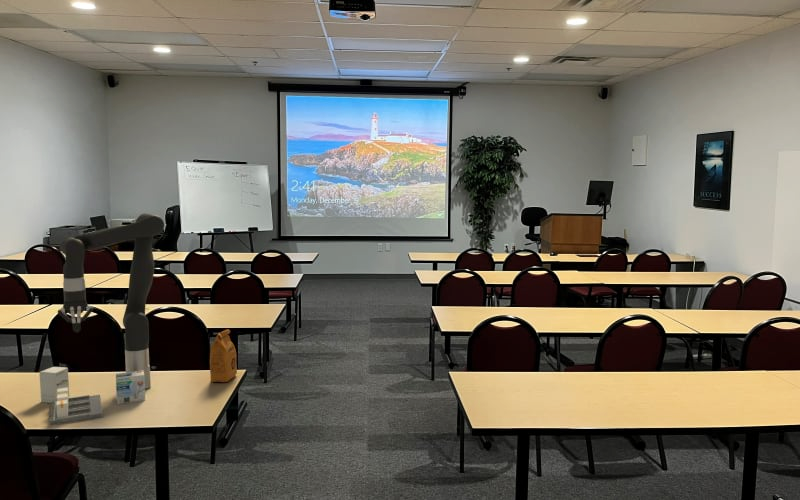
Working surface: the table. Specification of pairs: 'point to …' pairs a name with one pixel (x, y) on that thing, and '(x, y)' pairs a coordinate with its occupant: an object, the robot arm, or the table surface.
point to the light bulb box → (130, 387)
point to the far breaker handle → (62, 391)
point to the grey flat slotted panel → (78, 409)
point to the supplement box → (53, 383)
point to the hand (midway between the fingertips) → (76, 331)
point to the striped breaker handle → (62, 408)
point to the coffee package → (222, 358)
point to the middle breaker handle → (62, 397)
